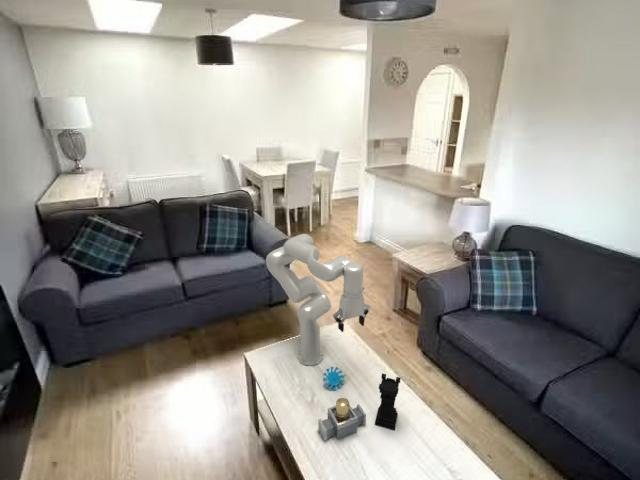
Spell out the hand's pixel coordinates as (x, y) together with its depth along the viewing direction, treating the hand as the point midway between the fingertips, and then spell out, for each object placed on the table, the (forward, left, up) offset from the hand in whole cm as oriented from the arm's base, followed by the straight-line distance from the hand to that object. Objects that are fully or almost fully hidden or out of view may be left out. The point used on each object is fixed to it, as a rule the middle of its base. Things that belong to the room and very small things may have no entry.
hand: (351, 327), depth 152 cm
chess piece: (+24, +4, -31) cm, 39 cm away
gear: (-1, -7, -31) cm, 31 cm away
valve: (+20, -14, -30) cm, 39 cm away
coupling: (+20, -14, -24) cm, 34 cm away
